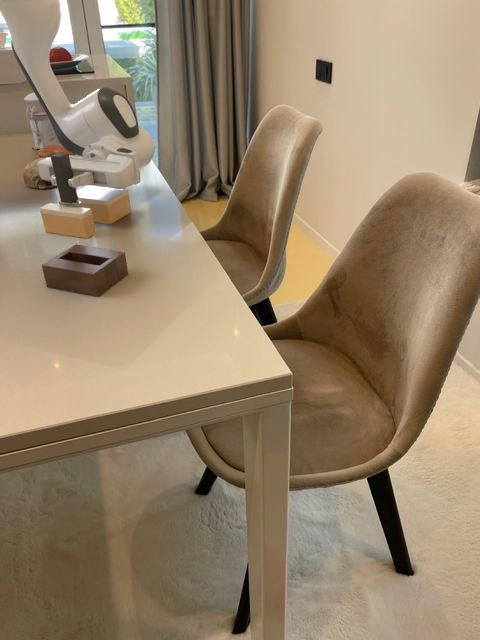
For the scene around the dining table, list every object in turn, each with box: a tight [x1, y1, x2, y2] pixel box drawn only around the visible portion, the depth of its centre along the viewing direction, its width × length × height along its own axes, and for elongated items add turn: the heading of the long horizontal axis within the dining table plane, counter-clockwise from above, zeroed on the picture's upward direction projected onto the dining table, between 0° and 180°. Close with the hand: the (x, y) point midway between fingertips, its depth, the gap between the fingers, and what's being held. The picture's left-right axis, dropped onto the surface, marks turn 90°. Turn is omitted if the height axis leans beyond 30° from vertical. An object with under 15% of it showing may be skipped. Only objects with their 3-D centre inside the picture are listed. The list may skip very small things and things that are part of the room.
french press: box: [23, 92, 61, 148], centre depth 163 cm, size 10×12×25 cm
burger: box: [37, 145, 77, 158], centre depth 153 cm, size 10×9×5 cm
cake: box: [76, 185, 132, 225], centre depth 119 cm, size 10×8×5 cm
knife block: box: [41, 243, 129, 298], centre depth 93 cm, size 10×9×4 cm
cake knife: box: [50, 153, 83, 208], centre depth 109 cm, size 5×2×14 cm, turn 69°
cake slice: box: [39, 202, 97, 239], centre depth 111 cm, size 10×3×5 cm, turn 69°
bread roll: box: [22, 157, 57, 190], centre depth 138 cm, size 10×10×8 cm
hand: (62, 182), depth 107 cm, fingers closed on cake knife, 2 cm apart
